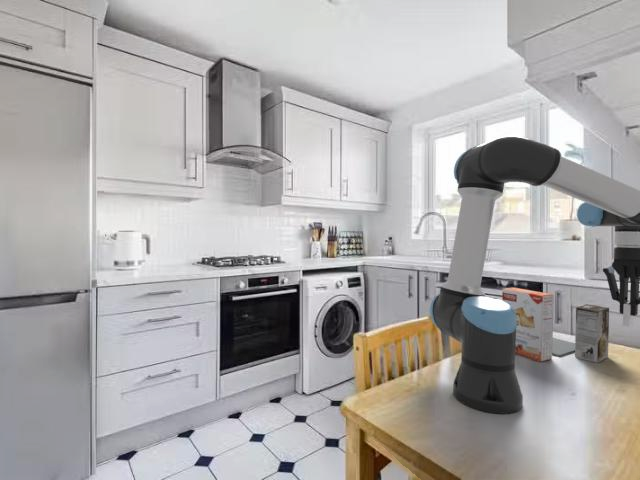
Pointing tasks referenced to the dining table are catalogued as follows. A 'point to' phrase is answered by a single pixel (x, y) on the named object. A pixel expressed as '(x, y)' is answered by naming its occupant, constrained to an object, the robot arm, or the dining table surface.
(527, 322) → the cracker box
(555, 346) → the mat
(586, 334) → the coffee box
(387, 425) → the dining table surface
